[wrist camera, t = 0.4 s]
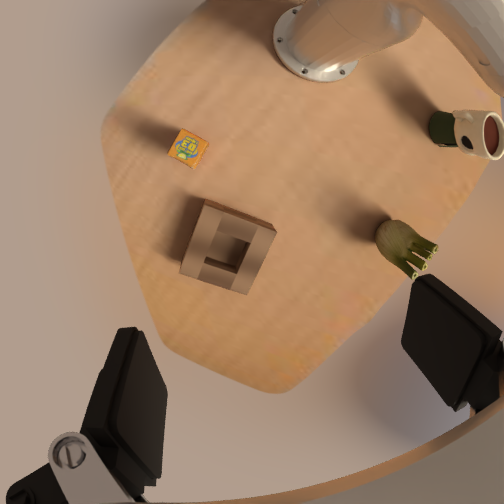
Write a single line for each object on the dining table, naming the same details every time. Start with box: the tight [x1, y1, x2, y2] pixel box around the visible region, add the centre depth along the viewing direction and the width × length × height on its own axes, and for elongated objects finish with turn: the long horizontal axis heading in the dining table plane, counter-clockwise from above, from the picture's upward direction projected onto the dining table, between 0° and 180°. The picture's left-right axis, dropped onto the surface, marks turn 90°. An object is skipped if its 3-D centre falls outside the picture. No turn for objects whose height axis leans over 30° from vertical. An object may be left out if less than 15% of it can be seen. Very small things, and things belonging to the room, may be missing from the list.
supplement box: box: [167, 128, 209, 169], centre depth 32 cm, size 3×3×10 cm
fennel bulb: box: [375, 220, 438, 280], centre depth 39 cm, size 6×5×12 cm
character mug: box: [429, 110, 504, 160], centre depth 32 cm, size 11×7×13 cm, turn 68°
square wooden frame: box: [179, 199, 277, 295], centre depth 40 cm, size 10×10×4 cm
